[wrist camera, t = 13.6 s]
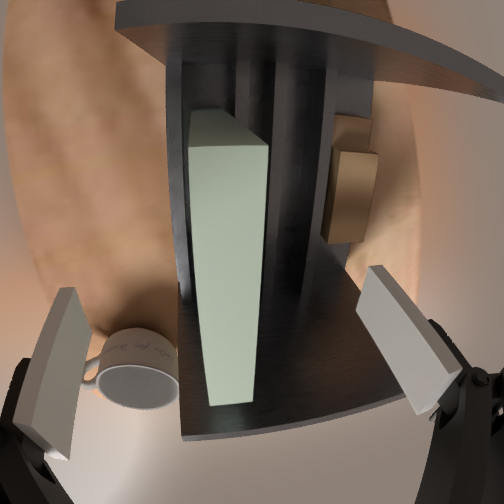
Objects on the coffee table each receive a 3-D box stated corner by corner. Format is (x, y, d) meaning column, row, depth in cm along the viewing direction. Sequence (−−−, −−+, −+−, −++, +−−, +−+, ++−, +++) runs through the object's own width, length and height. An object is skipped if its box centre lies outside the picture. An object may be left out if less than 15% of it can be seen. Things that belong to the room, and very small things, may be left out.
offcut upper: (331, 146, 26) (340, 151, 24) (368, 149, 27) (379, 154, 25) (319, 234, 31) (327, 244, 29) (354, 232, 31) (363, 242, 30)
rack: (167, 56, 22) (116, 1, 6) (366, 71, 26) (530, 95, 9) (179, 281, 35) (183, 441, 18) (338, 269, 38) (418, 392, 22)
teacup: (184, 321, 38) (186, 370, 31) (176, 371, 43) (178, 416, 36) (79, 306, 34) (63, 353, 27) (87, 360, 39) (78, 404, 32)
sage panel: (191, 108, 24) (188, 147, 9) (220, 107, 24) (268, 145, 9) (196, 249, 31) (209, 406, 16) (220, 247, 32) (252, 401, 16)
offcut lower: (325, 112, 26) (334, 114, 24) (361, 116, 27) (372, 119, 25) (313, 225, 32) (319, 234, 31) (346, 224, 33) (354, 232, 31)
